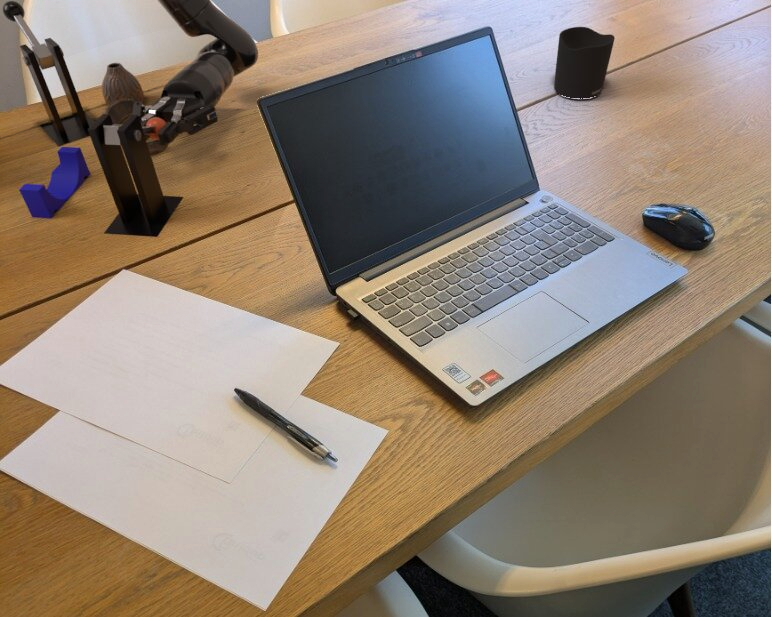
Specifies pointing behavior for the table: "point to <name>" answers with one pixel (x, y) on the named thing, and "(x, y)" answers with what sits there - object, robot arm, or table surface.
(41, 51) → the back lever
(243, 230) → the table surface
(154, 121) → the front lever
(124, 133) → the front bracket
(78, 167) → the blue curved cradle
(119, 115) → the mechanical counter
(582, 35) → the pen holder
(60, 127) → the back bracket
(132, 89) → the vase
